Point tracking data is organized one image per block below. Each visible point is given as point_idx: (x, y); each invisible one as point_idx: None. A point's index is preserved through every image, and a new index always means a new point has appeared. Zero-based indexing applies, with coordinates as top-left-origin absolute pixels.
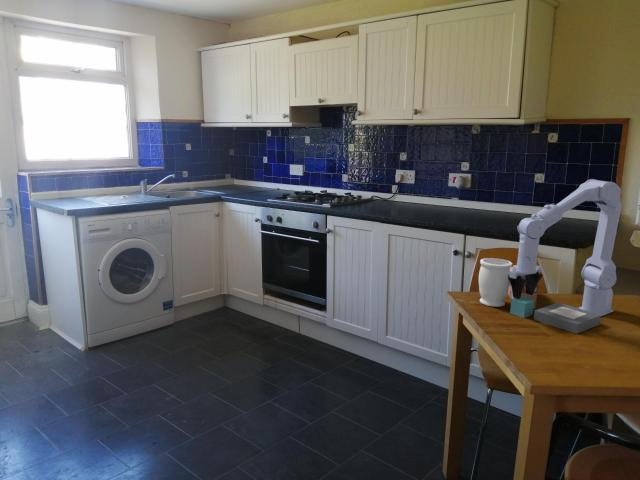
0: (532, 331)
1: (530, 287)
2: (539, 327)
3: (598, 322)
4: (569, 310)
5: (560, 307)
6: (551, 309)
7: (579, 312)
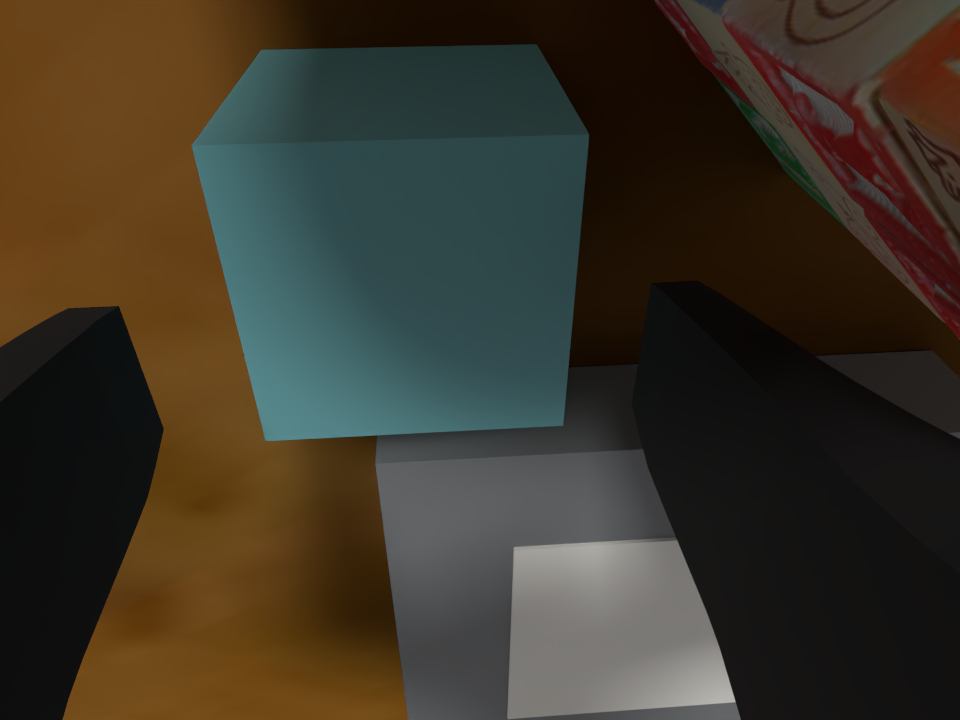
0: None
1: (706, 493)
2: (229, 520)
3: None
4: None
5: None
6: (619, 526)
7: None
